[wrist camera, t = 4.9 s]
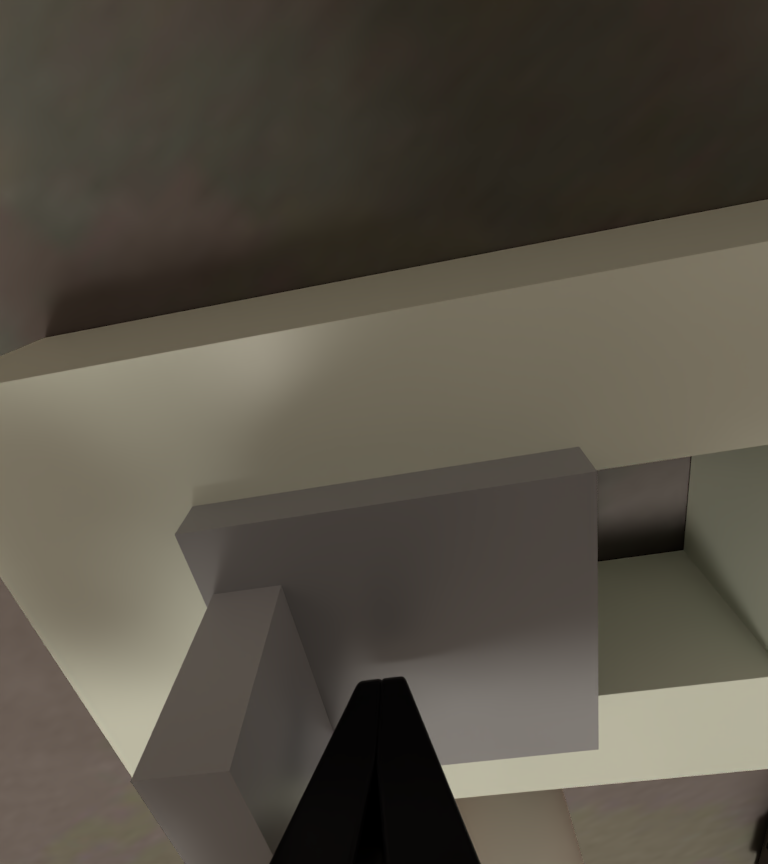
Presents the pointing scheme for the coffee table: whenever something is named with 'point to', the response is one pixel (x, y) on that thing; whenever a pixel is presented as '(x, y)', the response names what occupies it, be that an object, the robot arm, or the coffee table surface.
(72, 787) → the coffee table surface
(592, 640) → the shutter
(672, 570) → the socket block
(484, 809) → the plug
